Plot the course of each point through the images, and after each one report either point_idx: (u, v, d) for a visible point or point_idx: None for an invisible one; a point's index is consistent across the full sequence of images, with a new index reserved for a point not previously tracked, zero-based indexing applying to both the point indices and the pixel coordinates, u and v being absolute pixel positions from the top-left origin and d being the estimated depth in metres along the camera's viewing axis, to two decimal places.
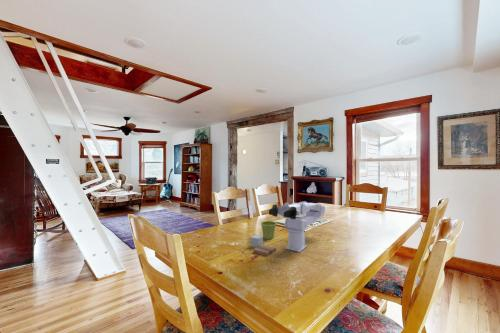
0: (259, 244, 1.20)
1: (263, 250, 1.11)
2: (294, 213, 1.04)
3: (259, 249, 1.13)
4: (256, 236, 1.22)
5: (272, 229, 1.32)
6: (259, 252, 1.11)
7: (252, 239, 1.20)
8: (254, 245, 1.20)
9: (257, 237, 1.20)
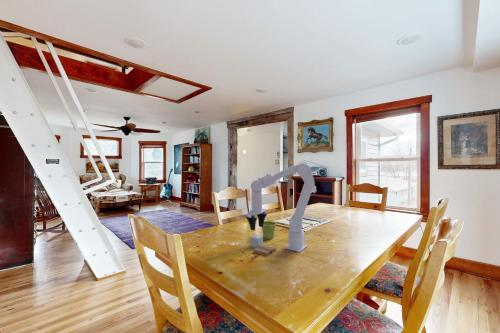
0: (259, 244, 1.20)
1: (263, 250, 1.11)
2: None
3: (259, 249, 1.13)
4: (256, 236, 1.22)
5: (272, 229, 1.32)
6: (259, 252, 1.11)
7: (252, 239, 1.20)
8: (254, 245, 1.20)
9: (257, 237, 1.20)
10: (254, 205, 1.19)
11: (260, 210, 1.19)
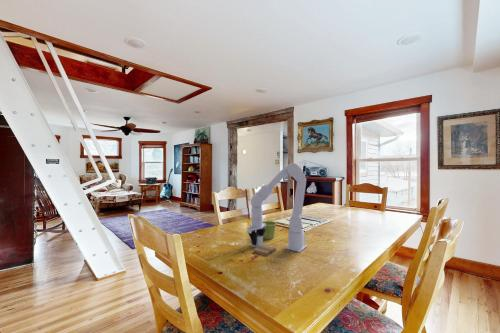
0: (259, 244, 1.20)
1: (263, 250, 1.11)
2: None
3: (259, 249, 1.13)
4: None
5: (272, 229, 1.32)
6: (259, 252, 1.11)
7: None
8: (254, 245, 1.20)
9: (257, 237, 1.20)
10: (254, 220, 1.19)
11: (260, 225, 1.19)
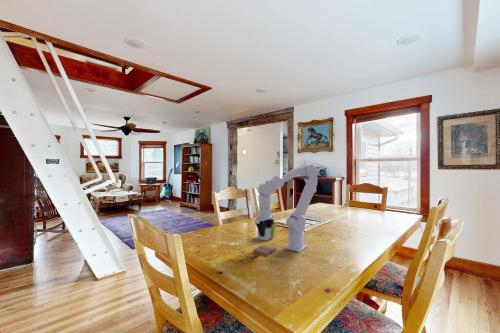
0: (267, 236, 1.12)
1: (263, 250, 1.11)
2: None
3: (259, 249, 1.13)
4: None
5: (272, 229, 1.32)
6: (259, 252, 1.11)
7: None
8: (261, 237, 1.12)
9: None
10: (262, 210, 1.11)
11: (268, 215, 1.11)
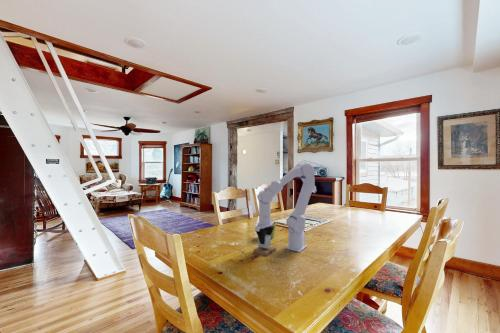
0: (267, 244, 1.12)
1: (263, 250, 1.11)
2: None
3: (259, 249, 1.13)
4: None
5: None
6: (259, 252, 1.11)
7: None
8: (261, 244, 1.12)
9: None
10: (262, 218, 1.11)
11: (268, 223, 1.12)
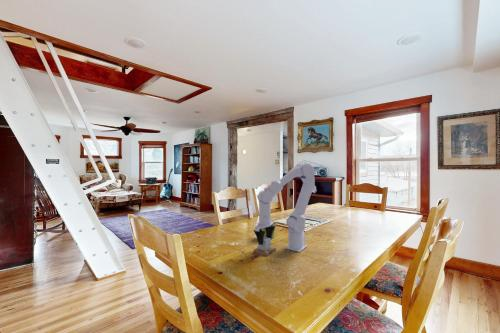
0: (267, 247, 1.12)
1: (263, 250, 1.11)
2: None
3: (259, 249, 1.13)
4: (264, 238, 1.14)
5: None
6: (259, 252, 1.11)
7: None
8: (261, 247, 1.12)
9: (265, 239, 1.13)
10: (262, 218, 1.11)
11: (268, 223, 1.12)
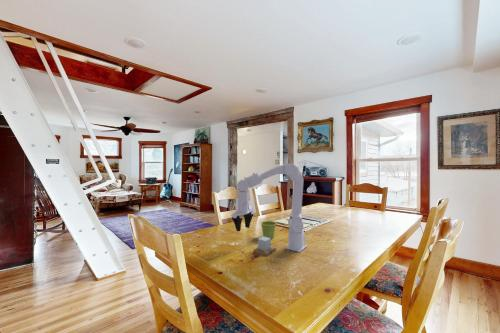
0: (267, 247, 1.12)
1: None
2: None
3: (259, 249, 1.13)
4: (263, 238, 1.14)
5: (272, 229, 1.32)
6: (259, 252, 1.11)
7: (259, 241, 1.13)
8: (261, 247, 1.12)
9: (265, 239, 1.13)
10: (240, 205, 1.15)
11: (246, 210, 1.16)
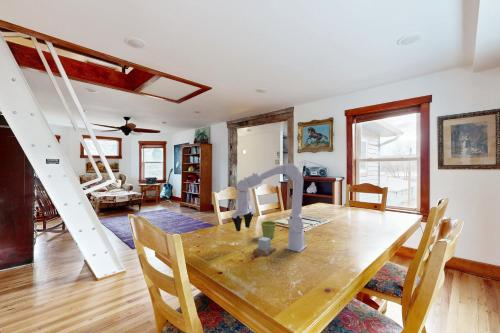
0: (267, 247, 1.12)
1: None
2: None
3: None
4: (263, 238, 1.14)
5: (272, 229, 1.32)
6: (259, 252, 1.11)
7: (259, 241, 1.13)
8: (261, 248, 1.12)
9: (265, 239, 1.13)
10: (240, 205, 1.15)
11: (246, 210, 1.16)
